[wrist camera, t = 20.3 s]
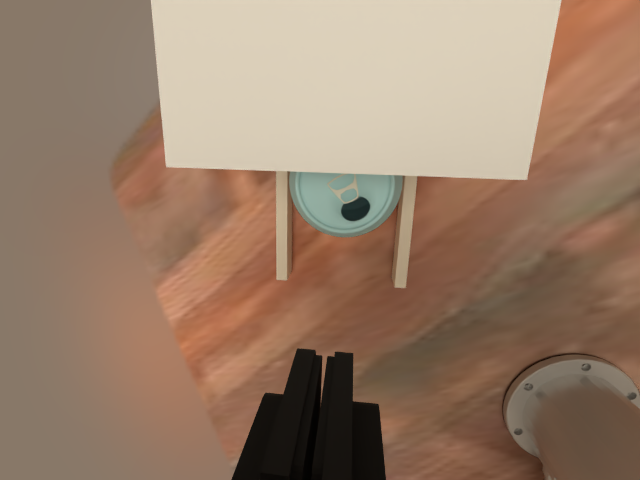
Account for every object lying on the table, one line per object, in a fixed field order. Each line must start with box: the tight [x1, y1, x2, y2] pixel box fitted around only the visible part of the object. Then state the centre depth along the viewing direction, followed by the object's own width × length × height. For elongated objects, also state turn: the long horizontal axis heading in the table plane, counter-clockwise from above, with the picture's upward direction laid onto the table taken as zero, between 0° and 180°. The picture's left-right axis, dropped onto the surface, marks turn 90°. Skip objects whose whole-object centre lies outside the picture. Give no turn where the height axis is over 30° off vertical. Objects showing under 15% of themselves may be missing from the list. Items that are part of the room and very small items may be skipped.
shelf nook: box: [151, 0, 561, 288], centre depth 22 cm, size 18×15×17 cm
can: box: [289, 171, 403, 237], centre depth 25 cm, size 7×7×12 cm
